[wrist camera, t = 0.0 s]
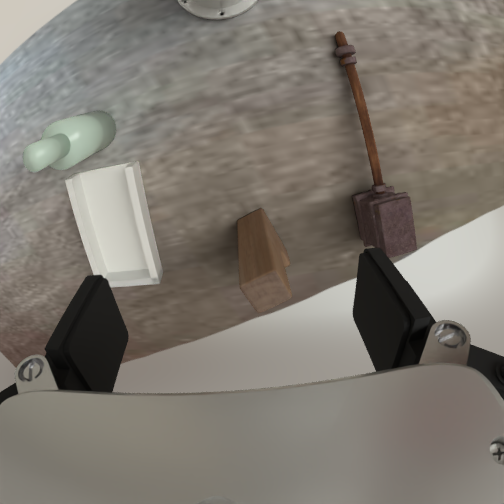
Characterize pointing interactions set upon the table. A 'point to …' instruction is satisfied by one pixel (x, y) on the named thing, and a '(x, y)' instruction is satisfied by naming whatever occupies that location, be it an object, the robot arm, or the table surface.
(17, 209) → the table surface
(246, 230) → the wooden block
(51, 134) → the bottle
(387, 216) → the hammer
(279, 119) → the table surface
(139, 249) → the u rest
